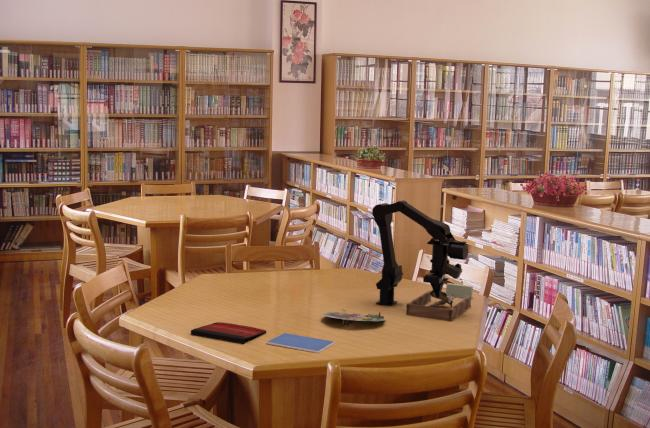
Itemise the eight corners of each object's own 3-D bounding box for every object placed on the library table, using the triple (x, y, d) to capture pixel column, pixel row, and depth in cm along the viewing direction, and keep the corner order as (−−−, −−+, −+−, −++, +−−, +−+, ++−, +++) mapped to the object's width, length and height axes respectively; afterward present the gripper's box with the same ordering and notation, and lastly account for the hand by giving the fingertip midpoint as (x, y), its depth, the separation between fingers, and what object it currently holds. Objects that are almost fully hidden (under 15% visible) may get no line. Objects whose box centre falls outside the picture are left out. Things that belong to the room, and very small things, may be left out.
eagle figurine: (450, 300, 311) (428, 296, 310) (455, 288, 306) (432, 283, 306) (450, 314, 305) (428, 310, 304) (455, 302, 300) (433, 298, 300)
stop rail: (470, 299, 318) (471, 287, 318) (445, 295, 323) (446, 284, 322) (472, 298, 320) (472, 286, 320) (447, 294, 325) (447, 283, 324)
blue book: (336, 344, 255) (336, 340, 255) (318, 355, 244) (318, 351, 244) (284, 336, 263) (284, 332, 263) (265, 345, 252) (265, 341, 252)
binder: (244, 338, 251) (190, 329, 260) (243, 345, 251) (190, 336, 261) (269, 328, 266) (217, 320, 275) (268, 335, 266) (217, 326, 275)
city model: (395, 322, 290) (395, 305, 290) (382, 331, 267) (383, 313, 267) (330, 317, 296) (330, 301, 296) (312, 326, 274) (313, 308, 274)
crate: (451, 321, 285) (451, 310, 284) (406, 314, 292) (406, 304, 292) (470, 306, 307) (471, 296, 306) (428, 300, 314) (428, 290, 314)
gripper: (452, 263, 283) (450, 305, 285) (467, 255, 300) (465, 295, 302) (423, 260, 288) (421, 301, 290) (439, 252, 305) (437, 291, 307)
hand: (437, 297), depth 297 cm, fingers closed
